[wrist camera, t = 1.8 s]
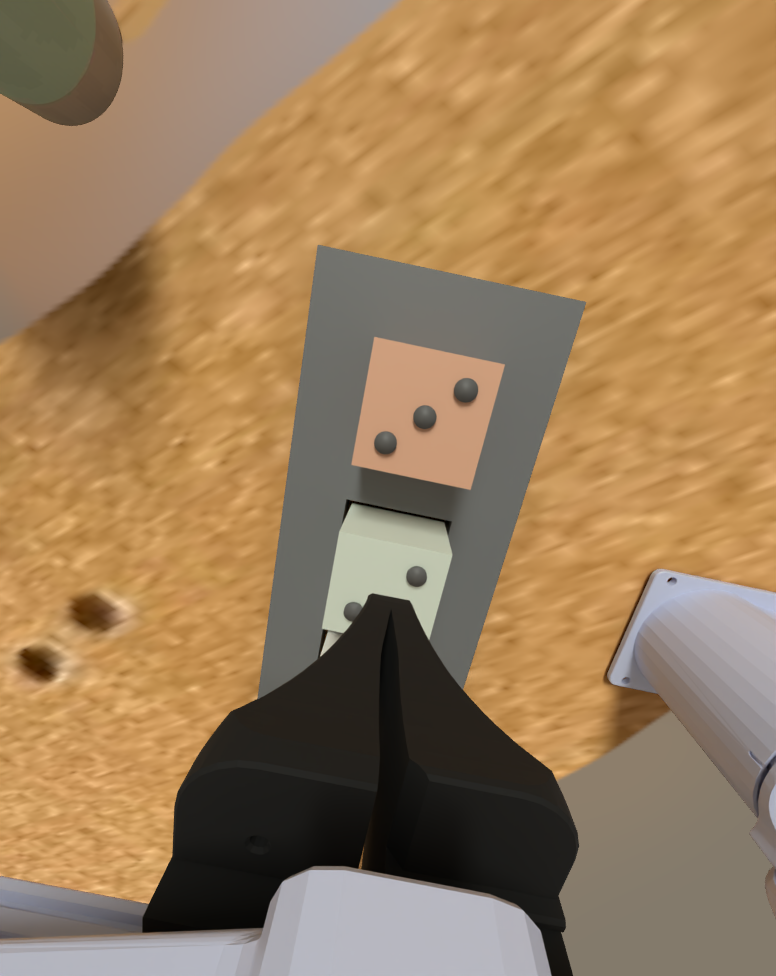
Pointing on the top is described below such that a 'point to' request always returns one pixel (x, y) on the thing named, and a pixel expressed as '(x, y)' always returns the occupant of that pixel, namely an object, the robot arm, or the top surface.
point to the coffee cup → (60, 57)
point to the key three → (425, 413)
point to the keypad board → (334, 481)
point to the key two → (387, 564)
